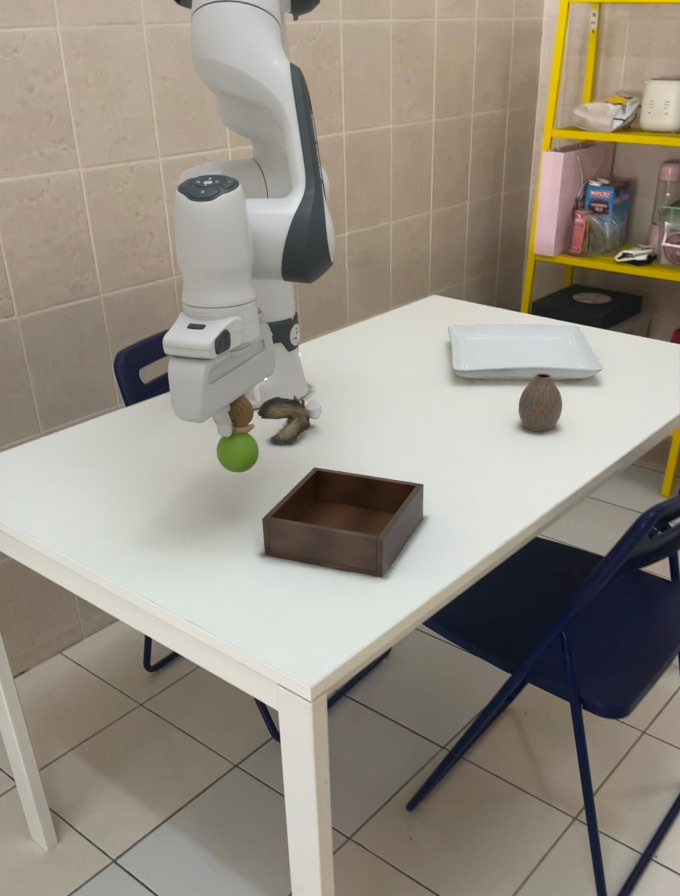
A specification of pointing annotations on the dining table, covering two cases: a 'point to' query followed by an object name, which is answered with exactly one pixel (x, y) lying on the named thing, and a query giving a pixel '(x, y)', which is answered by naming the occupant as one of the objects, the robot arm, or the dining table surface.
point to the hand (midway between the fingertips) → (233, 430)
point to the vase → (540, 404)
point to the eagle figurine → (290, 417)
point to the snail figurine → (239, 439)
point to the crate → (344, 521)
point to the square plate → (521, 352)
